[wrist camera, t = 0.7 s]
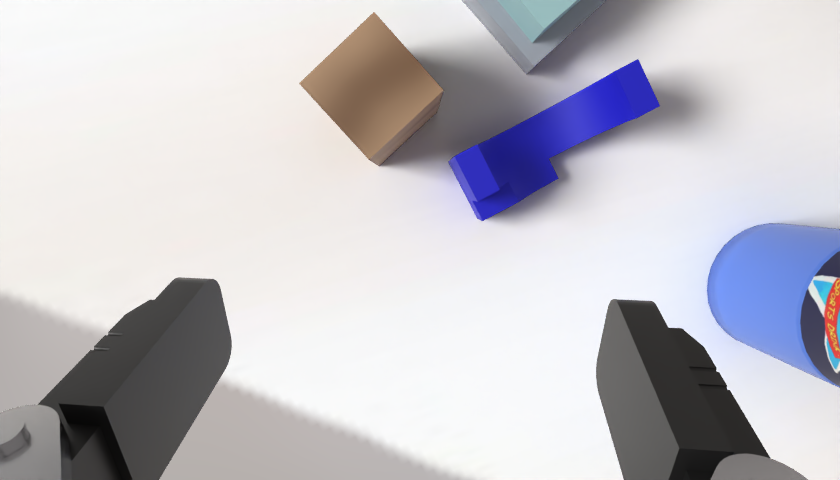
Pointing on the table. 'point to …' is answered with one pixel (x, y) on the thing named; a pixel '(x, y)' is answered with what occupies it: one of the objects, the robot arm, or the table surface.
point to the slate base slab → (514, 39)
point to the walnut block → (374, 90)
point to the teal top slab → (536, 14)
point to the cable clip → (548, 140)
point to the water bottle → (782, 294)
